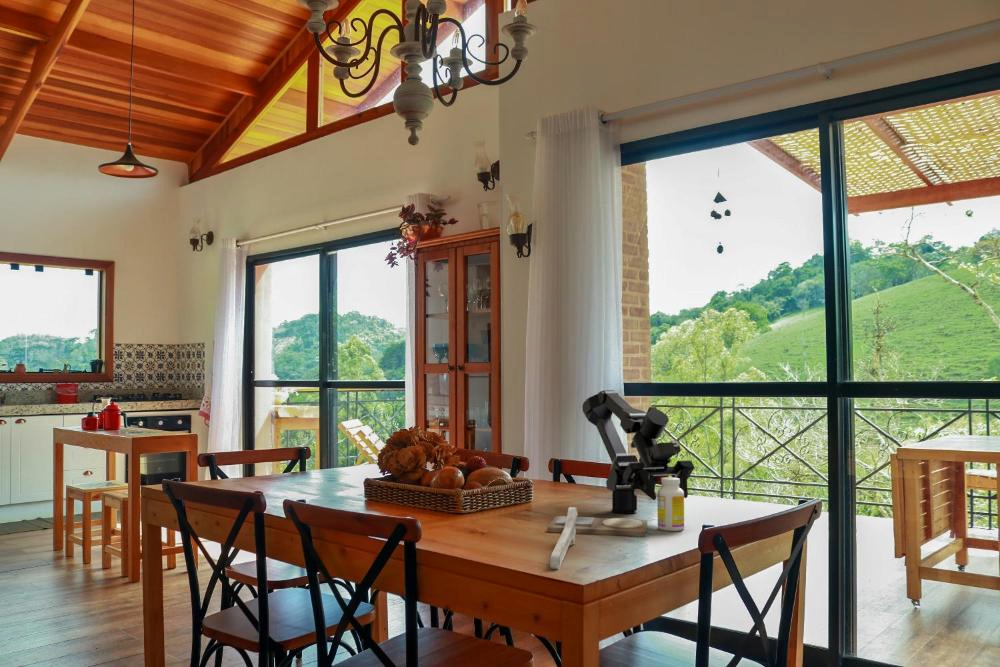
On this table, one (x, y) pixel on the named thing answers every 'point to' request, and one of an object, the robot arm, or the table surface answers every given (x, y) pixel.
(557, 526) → the coaster board
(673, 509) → the supplement bottle
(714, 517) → the table surface
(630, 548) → the table surface
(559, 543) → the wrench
